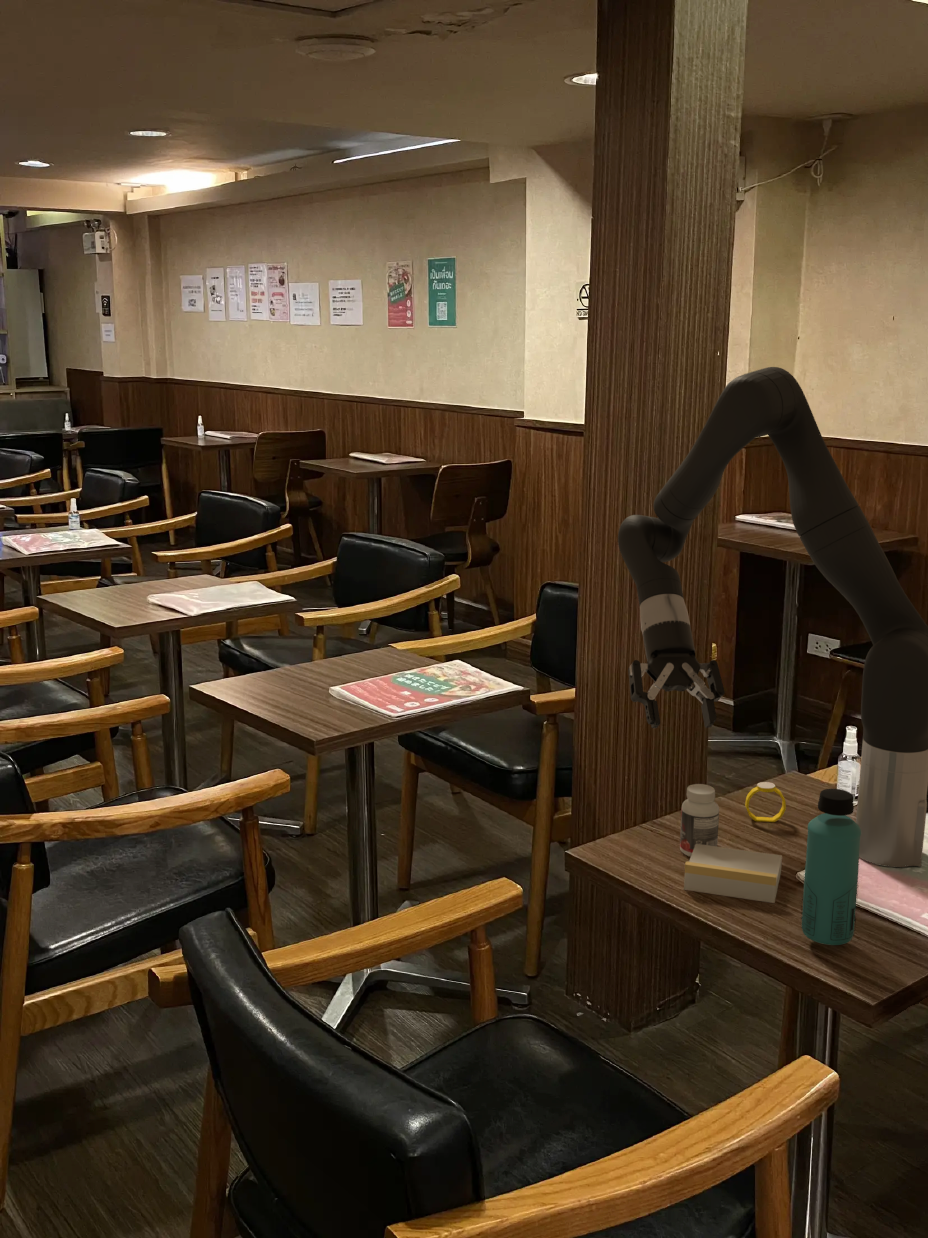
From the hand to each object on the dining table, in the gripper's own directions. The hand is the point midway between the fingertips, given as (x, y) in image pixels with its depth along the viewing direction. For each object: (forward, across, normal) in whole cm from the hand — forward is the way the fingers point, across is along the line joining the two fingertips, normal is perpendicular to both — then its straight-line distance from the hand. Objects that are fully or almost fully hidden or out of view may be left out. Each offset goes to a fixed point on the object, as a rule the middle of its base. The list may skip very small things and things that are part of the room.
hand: (683, 726), depth 180 cm
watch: (+12, +15, +10) cm, 21 cm away
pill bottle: (+18, 0, +3) cm, 19 cm away
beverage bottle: (+37, +6, -19) cm, 42 cm away
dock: (+25, +2, -4) cm, 25 cm away
